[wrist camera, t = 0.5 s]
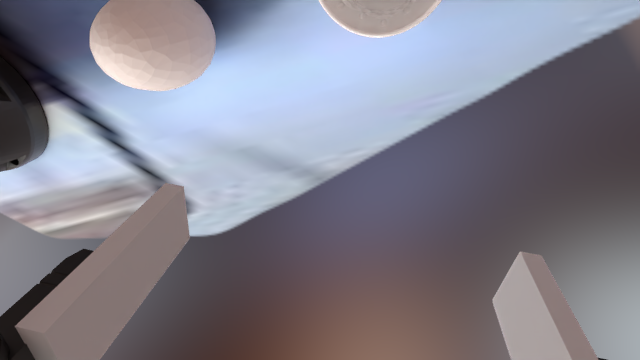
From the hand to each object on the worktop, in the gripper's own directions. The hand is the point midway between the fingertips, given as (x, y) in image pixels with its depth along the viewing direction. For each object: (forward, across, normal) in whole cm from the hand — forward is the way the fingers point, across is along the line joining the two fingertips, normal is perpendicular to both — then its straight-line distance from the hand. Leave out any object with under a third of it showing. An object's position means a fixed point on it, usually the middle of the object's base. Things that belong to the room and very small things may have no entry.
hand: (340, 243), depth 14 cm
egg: (+22, -16, +3) cm, 27 cm away
